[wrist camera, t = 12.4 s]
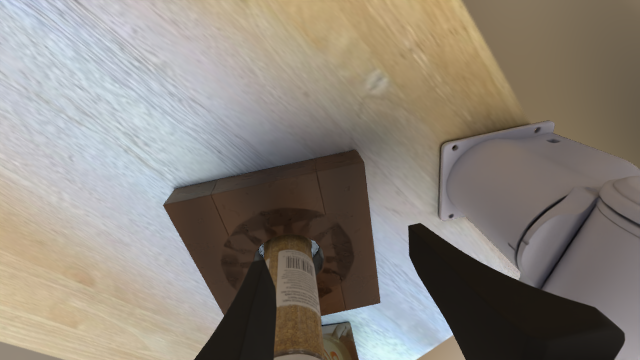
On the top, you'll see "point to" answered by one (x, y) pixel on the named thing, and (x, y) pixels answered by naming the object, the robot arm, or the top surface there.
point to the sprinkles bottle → (295, 298)
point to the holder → (283, 226)
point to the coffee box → (339, 342)
